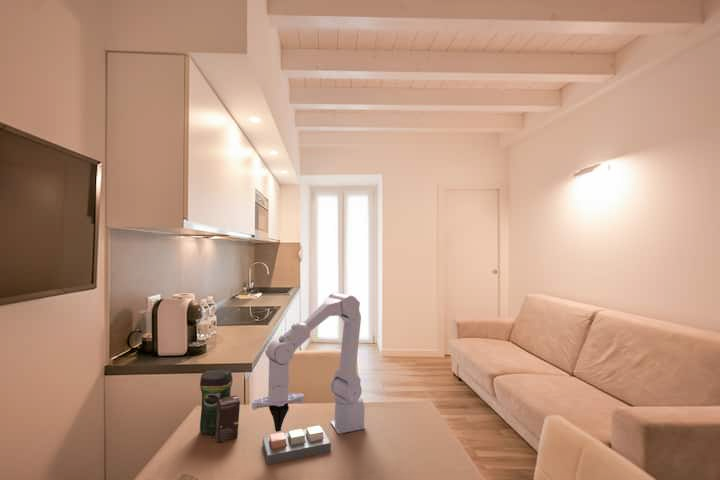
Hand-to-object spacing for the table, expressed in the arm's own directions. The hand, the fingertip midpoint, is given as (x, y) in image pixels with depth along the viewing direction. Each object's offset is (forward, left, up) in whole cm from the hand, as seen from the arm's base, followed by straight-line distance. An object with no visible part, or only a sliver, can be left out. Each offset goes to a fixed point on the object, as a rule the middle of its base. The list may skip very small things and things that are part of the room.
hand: (277, 429), depth 107 cm
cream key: (-11, 0, -5) cm, 12 cm away
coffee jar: (+16, -19, -7) cm, 26 cm away
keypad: (-6, 0, -7) cm, 9 cm away
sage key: (-6, 0, -5) cm, 7 cm away
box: (+13, -14, -7) cm, 20 cm away
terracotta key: (0, 0, -5) cm, 5 cm away
